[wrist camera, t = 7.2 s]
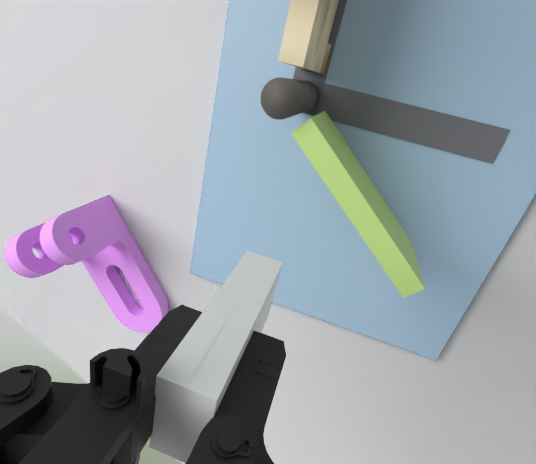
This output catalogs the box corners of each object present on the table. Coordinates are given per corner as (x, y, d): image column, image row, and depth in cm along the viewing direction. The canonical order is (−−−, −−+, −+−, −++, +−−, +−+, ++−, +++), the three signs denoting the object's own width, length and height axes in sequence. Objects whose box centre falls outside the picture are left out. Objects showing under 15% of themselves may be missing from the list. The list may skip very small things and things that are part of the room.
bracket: (67, 213, 32) (-6, 244, 26) (110, 194, 30) (41, 222, 23) (136, 328, 35) (86, 379, 29) (179, 317, 33) (135, 371, 27)
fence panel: (309, 122, 22) (290, 133, 17) (325, 110, 22) (310, 117, 16) (395, 250, 24) (403, 298, 18) (412, 242, 23) (425, 288, 18)
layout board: (257, -171, 18) (254, -179, 18) (708, -108, 15) (721, -115, 14) (192, 269, 30) (189, 273, 30) (434, 356, 27) (435, 361, 26)
